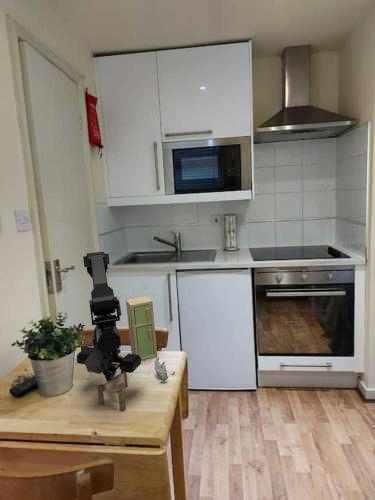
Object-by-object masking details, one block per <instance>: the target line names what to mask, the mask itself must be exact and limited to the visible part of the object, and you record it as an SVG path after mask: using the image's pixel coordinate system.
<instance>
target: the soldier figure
mask: <svg viewBox="0 0 375 500" xmlns="http://www.w3.org/2000/svg"><path fill="white" fill-rule="evenodd" d="M159 360H160V357H158V356H157V357H156V358H155V361H154V370H155V372H156V374H157V375H158V376H157V377H158V378H159V379H160V380H162V381H163V382H165V381H166V379H168V378H169V375H168V372H167V371H166V370H167V367H166V365H165V363H166V362H165V361H163V362H162V363H160V361H159ZM175 374H176V372H175V371H173V372H172V373H171V374H170V376H174V375H175Z"/></svg>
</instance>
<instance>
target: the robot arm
mask: <svg viewBox="0 0 375 500" xmlns="http://www.w3.org/2000/svg"><path fill="white" fill-rule="evenodd" d="M109 255H110V254H109V253H105V251H97V252H88V253H86V254H85V255H84V256H83V257H82V258H83V259H82V261H83V267H84V268H86V272H87V275H88V276H90V277H91V279H92V286H93V288H92V290H91V292H90V296H91V299H90V300H88V301H89V311H90V318H91V326H95V327H94V328H93V335H92V343H93V344H92V345H93V347H92V346H85V348H83V349H82V350H81V351H79V352H78V353H77V354H76V364H81V365H85V368H86V371H87V372H88V373H95V374H98V375H99V374H103V377H104V378H105V380H106V383H107V382H108V381H110V380H111V379H112V378H114V377H115V376H116V374H117V371H118V369H119V370H120V372H121V371H122V372H126V373H128V374H131V373H134V371H136V370H137V369H138V367H139V366H140V365H141V364H142V361H141V357H140V356H139V355H136V354H132V353H131V352H130V353H129V352H128V353H127V354H126V355H125V356H124V357H123V355H120V353H121V351H122V350H121V349H120V347H121V346H122V344H121V341H122V340H121V334H120V333H119V330H118V328H117V322H120V321H121V316H122V309H121V304H120V303H121V302H120V300H119V298H118V297H117V296H115V292H114V289H113V288H112V287H110V285H109V282H108V278H107V271H108V269H109V265H110V256H109Z"/></svg>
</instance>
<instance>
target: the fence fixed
mask: <svg viewBox="0 0 375 500" xmlns="http://www.w3.org/2000/svg"><path fill="white" fill-rule="evenodd" d="M97 394H98V402H99V405H101V406H102V405H104V406H106V407H109V408H113V409H115V410H118V411H120V412H125V411H126V410H127V407H126V398H125V397H126V396H125V391H124V390H121V391H119V392H118V393H117V392H114V391H111V390H107V389H106V390H105V388H104V384H99V385H97Z"/></svg>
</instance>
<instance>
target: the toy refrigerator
mask: <svg viewBox="0 0 375 500" xmlns="http://www.w3.org/2000/svg"><path fill="white" fill-rule="evenodd" d="M153 302H154V301H153V300H152V299H151V298H150V297H149V296H148V295H145V296H138V297H134V298H133V297H132V298H128V299H126V300H125V304H126V305H125V306H126V313H127V314H126V316H127V322H128V334H129V343H130V354H136V355H139V356H140V357H141V362H142V361H146V360H149V359H153V358H158V347H157V337H156V327H155V325H156V324H155V318H154V317H155V315H154V306H153V305H154V303H153Z"/></svg>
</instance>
